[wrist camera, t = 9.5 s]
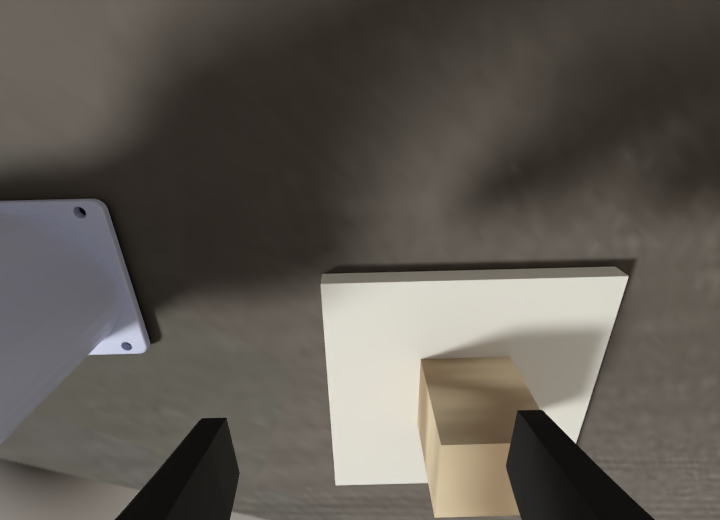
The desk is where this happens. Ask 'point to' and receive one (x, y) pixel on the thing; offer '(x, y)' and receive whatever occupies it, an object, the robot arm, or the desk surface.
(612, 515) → the robot arm
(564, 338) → the board
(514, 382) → the oak block
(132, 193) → the desk surface
